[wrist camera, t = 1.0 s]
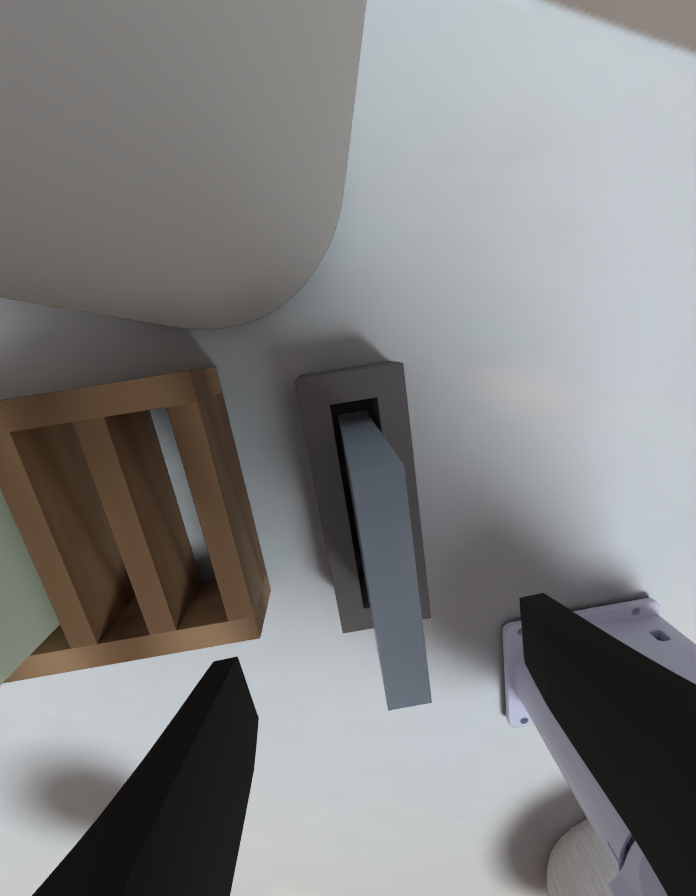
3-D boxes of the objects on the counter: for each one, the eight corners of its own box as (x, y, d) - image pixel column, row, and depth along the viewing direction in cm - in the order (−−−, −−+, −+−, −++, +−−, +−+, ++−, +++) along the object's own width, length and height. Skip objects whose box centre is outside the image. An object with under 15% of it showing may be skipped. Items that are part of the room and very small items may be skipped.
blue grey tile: (365, 410, 18) (403, 465, 9) (385, 550, 20) (431, 702, 11) (337, 414, 18) (350, 474, 9) (360, 555, 20) (388, 710, 11)
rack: (216, 367, 17) (189, 370, 13) (270, 590, 20) (259, 637, 17) (-42, 407, 17) (-135, 422, 13) (56, 627, 20) (1, 683, 16)
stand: (390, 361, 17) (402, 362, 14) (415, 580, 21) (430, 617, 18) (299, 375, 17) (295, 380, 14) (340, 593, 20) (342, 633, 18)
